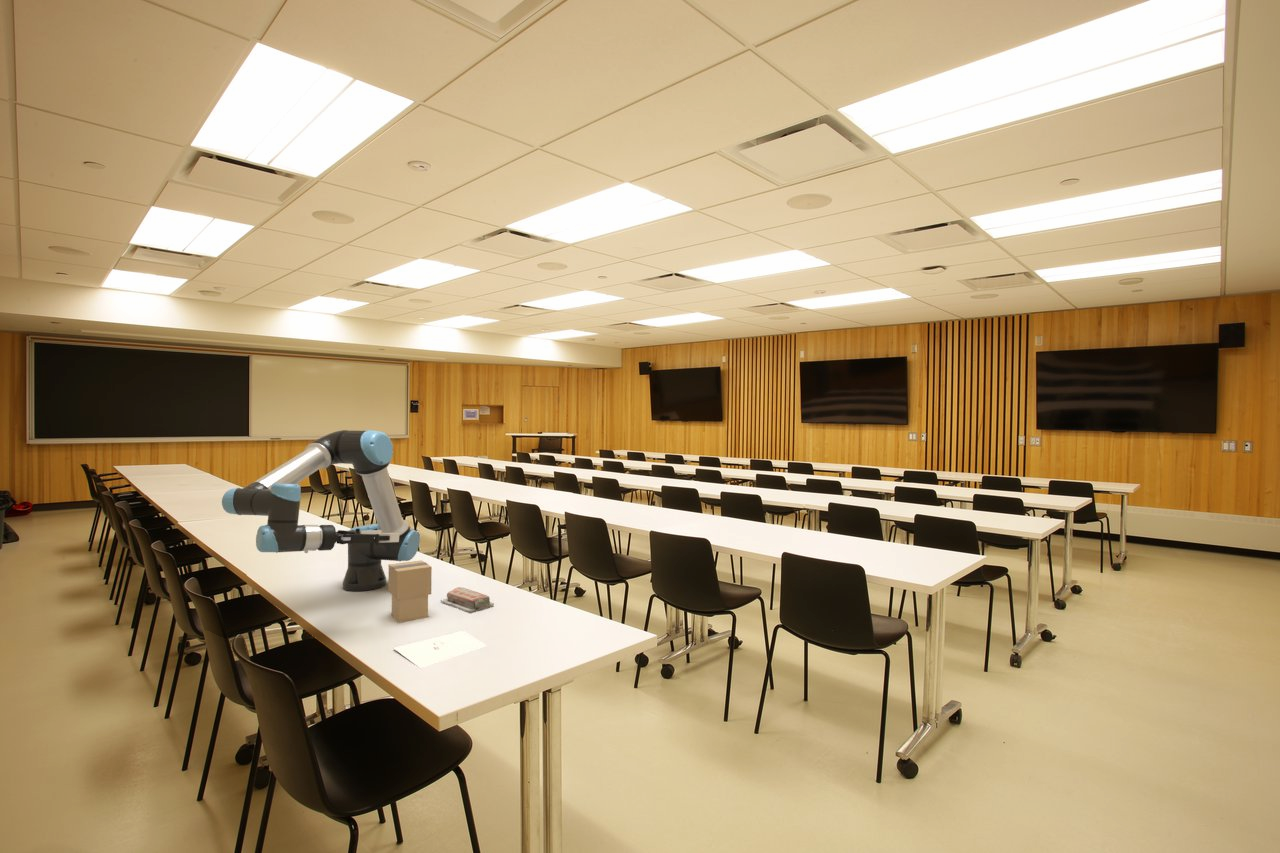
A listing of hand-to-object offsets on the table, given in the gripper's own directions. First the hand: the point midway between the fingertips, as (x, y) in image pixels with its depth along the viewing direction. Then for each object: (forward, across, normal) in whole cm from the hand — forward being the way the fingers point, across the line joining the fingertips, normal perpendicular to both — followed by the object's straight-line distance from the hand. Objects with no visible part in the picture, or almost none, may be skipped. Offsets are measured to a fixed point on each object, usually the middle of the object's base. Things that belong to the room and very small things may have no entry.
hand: (389, 535), depth 192 cm
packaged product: (+28, +2, -25) cm, 38 cm away
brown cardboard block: (+8, 0, -19) cm, 20 cm away
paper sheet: (+3, +38, -30) cm, 49 cm away
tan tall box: (+9, 0, -26) cm, 27 cm away
